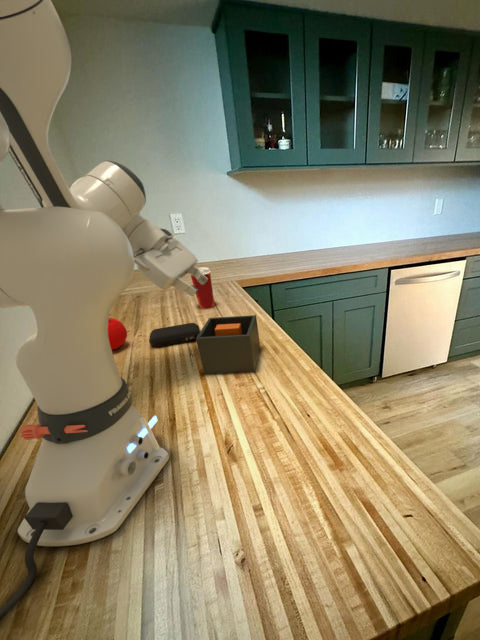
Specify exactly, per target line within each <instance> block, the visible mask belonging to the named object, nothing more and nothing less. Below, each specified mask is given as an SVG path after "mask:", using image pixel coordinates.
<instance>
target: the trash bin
mask: <svg viewBox="0 0 480 640" xmlns="http://www.w3.org/2000/svg"><path fill="white" fill-rule="evenodd" d="M238 323H241V329H242V335H230V336H216V335H215V328H216V326H217V325H221V324H238ZM259 333H260V332H259V326H258V320H257V315H256V314H254V315H253V314H252V315H236V316H235V315H234V316H220V317H219V316H218V317H209V318H208V319H207V321H206V322H205V323H204V325H203V327H202V328H201V329H200V333H199V334H198V336H197V337H196V339H195V341H196V345H197V350H198V356H199V359H200V363H201V368H202V371H203V375H215V374H234V373H235V374H236V373H253V372H256V368H257V364H258V363H257V362H258V359H259V355H260V351H261V342H260V336H259Z"/></svg>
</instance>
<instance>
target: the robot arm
mask: <svg viewBox="0 0 480 640" xmlns="http://www.w3.org/2000/svg"><path fill="white" fill-rule="evenodd" d="M71 71H72V49H71V46H70V43H69V39H68V35H67V33H66V30H65V28H64V25H63V23H62V21H61V18H60V16H59V14H58V12H57V9H56V8H55V5H54V3H53V1H52V0H0V165H2V163H3V162H4V160H5V159H6V158H7V156H8V154H9V155H10V157H11V158H12V161H13V162H14V164H15V165H16V167H17V169H18V170H19V172H20V173H21V175H22V177H23V178H24V180H25V182H26V184H27V185H28V187H29V189H30V190H31V192H32V194H33V195H34V197H35V198H36V200H37V202H38V203H39V206H40V207H29V208H17V209H15V208H14V209H5V208H4V207H3V205H2V204H1V203H0V309H7V308H9V309H10V308H23V307H29V308H30V309H31V311H32V313H33V315H34V318H35V322H36V332H35V333H34V334H32V335H31V336H30V337H28V338H27V339H26V340H25V341H24V342H23V343H22V345H21V346H20V348H19V349H18V352H17V355H16V358H15V361H16V368H17V370H18V372H19V373H20V375H21V377H22V379H23V380H24V382H25V384H26V386H27V388H28V389H29V391H30V393H31V395H32V397H33V398H34V401H35V402H36V404H37V419H38V423H37V424H24V425H23V426H22V428H20V429H21V430H20V436H21V438H22V440H33V439H36V440H40V439H42V440H41V443H40V446H39V449H38V452H37V454H36V457H35V460H34V462H33V466H32V469H31V472H30V475H29V478H28V480H27V483H26V485H25V488H24V497H25V500H26V503H27V505H28V508H29V509H28V510H27V513H26V514H25V515H24V517H23V520H22V521H21V523H20V524H19V526H18V528H17V534H18V536H19V538H20V539H21V540H22V541H24V542H25V543H27V544H28V545H27V547H26V550H25V555H24V564H25V567H26V570H27V576H26V577H25V580H24V582H23V584H22V585H21V587H20V588H19V590H18V591H17V592H16V593H15V594H14V595H13V596H12V597H11V598H10V600H8V602H6V603H5V604H4V605H3V606H2V607H1V608H0V620H1V619H2V618H3V617H4V616H5V615H6V614H7V613H9V612H10V611H11V609H13V607H14V606H15V605H17V603H18V602H19V601H20V600H21V599H22V598H23V597H24V596H25V594H26V593H27V592H28V591H29V590H30V588H31V586H32V585H33V583H34V581H35V578H36V576H37V571H38V567H37V565H36V562H35V552H36V548H37V546H39V547H67V546H69V547H70V546H76V545H82V544H87V543H91V542H94V541H97V540H101V539H102V538H105V537H107V536H110V535H112V534H113V533H115V532H116V531H118V529H119V528H121V526H122V524H124V522H125V520H126V519H127V517H129V515H130V513H132V511H133V509H134V508H135V506H136V505H138V502H139V501H140V499H141V498H143V495H144V494H145V493H146V491H147V490H148V489H149V487H150V486H151V485H152V483H153V482H154V480H155V479H156V478H157V477H158V475H159V473H160V472H161V471H162V469H163V468H164V467H165V466H166V464H167V462H168V461H169V460H170V454H169V453H168V451H167V450H166V449H164V448H163V447H161V446H160V444H159V443H158V440H157V438H156V437H155V435H154V433H153V430H152V428H153V427H154V426H155V424H156V423H158V417H157V415H154V416H152V418H151V419H150V420H149V422H148V421H147V419H146V418H145V417H144V416H143V415H142V414H141V413H140V412H139V410H138V409H137V408H136V407H135V406H134V404H133V396H132V394H131V390H130V387H129V385H128V384H127V381H126V380H125V379H124V378H123V377H122V376H121V374H120V371H119V369H118V365H117V363H116V360H115V357H114V354H113V350H111V346H110V343H109V338H108V320H109V318H110V316H111V315H110V314H111V312H112V309H113V307H114V305H115V303H116V301H117V300H118V298H119V297H120V296H121V295H122V294H123V293H124V292H125V291H126V289H127V288H128V287H129V285H130V284H131V281H132V279H133V275H134V271H135V265H136V268H137V270H138V271H139V273H141V274H142V275H143V277H146V278H147V279H148V280H149V281H150V282H151V283H152V284H154V285H155V286H156V287H157V288H159V289H161V290H164V291H168V290H169V289H170V288H171V287H173V288H175V289H176V290H179V291H180V292H184V293H186V294H187V295H188V296H190V297H194V296H196V292H197V288H196V287H194V285H193V283H192V284H190V283H188V282H187V281H184V279H183V277H185V276H186V275H187V274H188V275H190V274H191V275H193V276H194V277H195V278H196V279H197V281H198V282H199V283H200V284H202V285H204V284H205V283H206V282H207V280H208V278H207V277H206V276H204V275H203V274H202V272H201V271H200V270H199V268H200V267H198V266H196V265H197V263H198V262H199V261H198V258H197V256H196V255H195V254H194V253H193V252H192V250H189V249H188V247H186V246H185V245H184V244H183V243H181V241H179V240H178V239H176V238H174V236H175V235H174V233H172V232H171V231H170V230H169V229H166V228H161V227H158V226H157V225H154V224H153V223H151V222H150V221H149V220H148V219H146V218H145V217H144V216H142V215H141V214H140V213H141V211H142V210H143V209H144V207H145V205H146V202H147V195H146V190H145V187H144V184H143V182H142V181H141V179H140V178H139V177H138V176H137V175H136V174H135V173H134V172H133V171H132V170H131V169H130V168H128V167H127V166H126V165H123V164H121V163H119V162H117V161H113V160H104V161H102V162H101V163H99V164H97V165H96V166H95V167H94V168H93V169H91V170H90V171H89V172H88V173H87V174H85V175H84V176H82V177H80V178H78V179H76V180H74V182H73V183H72V184H71V186H70V187H69V186H68V184H67V182H66V180H65V178H64V176H63V173H62V172H61V170H60V167H59V166H58V164H57V162H56V160H55V158H54V156H53V154H52V151H51V149H50V143H49V129H50V126H51V120H52V117H53V114H54V112H55V109H56V107H57V105H58V103H59V101H60V99H61V96H62V95H63V93H64V91H65V90H66V88H67V85H68V82H69V79H70V76H71ZM191 275H190V276H191ZM109 315H110V316H109Z"/></svg>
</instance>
